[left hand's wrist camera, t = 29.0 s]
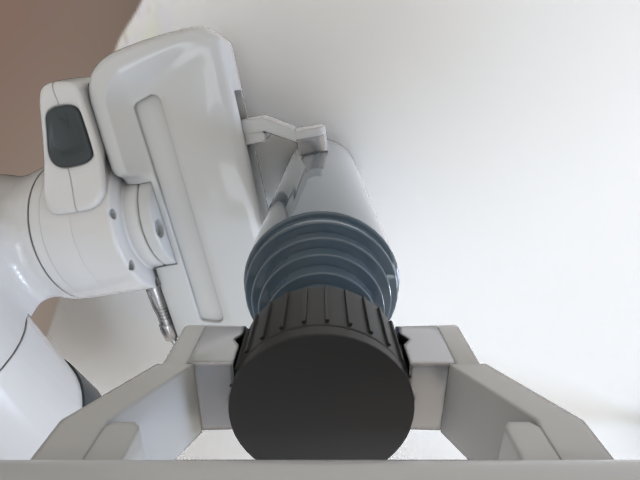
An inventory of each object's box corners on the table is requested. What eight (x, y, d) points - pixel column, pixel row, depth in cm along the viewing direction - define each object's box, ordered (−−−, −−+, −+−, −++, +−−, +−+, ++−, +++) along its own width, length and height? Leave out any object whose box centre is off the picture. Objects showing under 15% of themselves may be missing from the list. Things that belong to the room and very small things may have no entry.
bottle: (371, 171, 31) (487, 377, 9) (324, 221, 32) (330, 503, 10) (318, 124, 29) (308, 231, 8) (272, 178, 31) (158, 394, 9)
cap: (389, 270, 10) (406, 316, 8) (407, 404, 11) (426, 471, 9) (224, 297, 10) (201, 348, 8) (262, 425, 11) (251, 494, 9)
